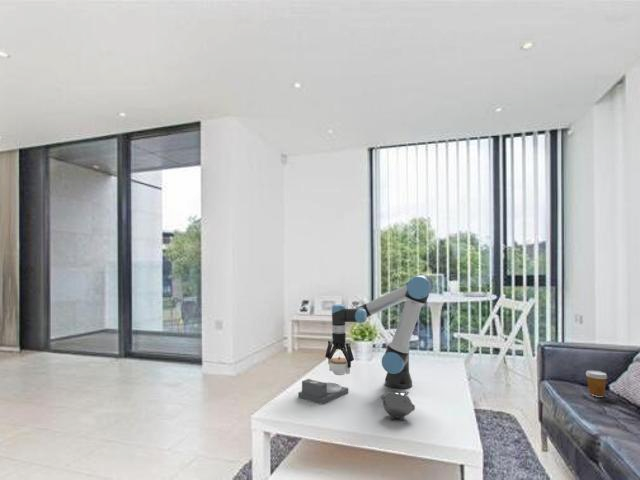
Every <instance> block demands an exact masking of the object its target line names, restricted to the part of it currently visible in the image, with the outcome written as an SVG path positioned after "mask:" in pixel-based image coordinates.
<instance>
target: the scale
mask: <svg viewBox="0 0 640 480" xmlns="http://www.w3.org/2000/svg"><path fill="white" fill-rule="evenodd" d="M347 394H349V388H348V387H345V386H341V385H340V384H338V383H334V382H322V381H319V380H314V379H310V378H307V379H305V380H301V391H299V392H298V393H297V395H298V396H297V397H298V398H299V399H301V400H306V401H309V402H313V403H317V404H320V405H325V404H327V403H330V402H332V401H334V400H336V399H339V398H341V397H343V396H345V395H347ZM298 398H297V399H298Z"/></svg>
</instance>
